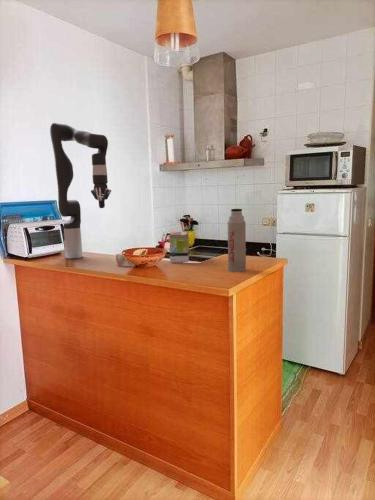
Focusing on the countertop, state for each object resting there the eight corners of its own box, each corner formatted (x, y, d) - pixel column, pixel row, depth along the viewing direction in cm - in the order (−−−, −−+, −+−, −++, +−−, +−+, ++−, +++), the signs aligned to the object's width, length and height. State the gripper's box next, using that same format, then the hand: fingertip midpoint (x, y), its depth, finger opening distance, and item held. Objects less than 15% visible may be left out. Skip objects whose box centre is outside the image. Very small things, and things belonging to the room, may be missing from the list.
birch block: (115, 254, 189) (137, 254, 185) (121, 252, 195) (142, 252, 191) (116, 265, 190) (137, 266, 186) (122, 263, 196) (143, 264, 192)
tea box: (189, 262, 192) (188, 234, 189) (169, 263, 192) (168, 234, 190) (189, 257, 207) (188, 230, 204) (171, 257, 207) (170, 231, 204)
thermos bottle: (233, 272, 166) (233, 209, 161) (225, 269, 173) (224, 208, 168) (249, 270, 169) (248, 208, 164) (239, 267, 176) (239, 208, 171)
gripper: (85, 174, 193) (87, 208, 196) (103, 173, 186) (106, 208, 189) (95, 175, 199) (98, 207, 202) (114, 173, 192) (116, 207, 195)
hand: (102, 207), depth 195 cm, fingers closed
